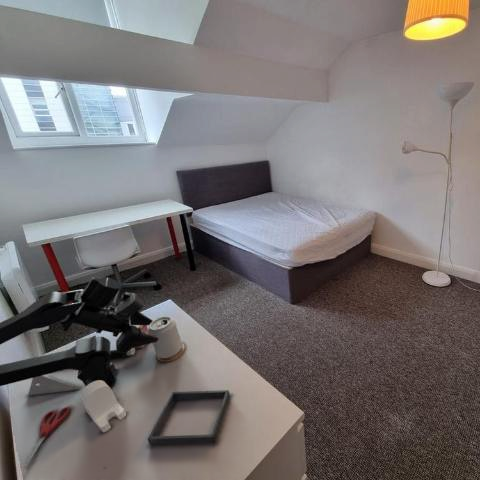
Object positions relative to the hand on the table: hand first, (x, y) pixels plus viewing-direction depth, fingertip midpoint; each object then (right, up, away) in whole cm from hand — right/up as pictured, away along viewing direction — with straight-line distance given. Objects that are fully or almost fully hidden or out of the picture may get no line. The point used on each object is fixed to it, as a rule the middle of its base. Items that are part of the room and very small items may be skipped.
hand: (155, 331), depth 83 cm
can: (+2, -8, +5) cm, 10 cm away
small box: (-11, -7, +9) cm, 16 cm away
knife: (-22, -10, 0) cm, 25 cm away
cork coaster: (+2, -9, +5) cm, 10 cm away
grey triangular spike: (-18, -15, -4) cm, 24 cm away
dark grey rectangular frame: (+19, -17, -15) cm, 30 cm away
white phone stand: (-5, -17, -13) cm, 22 cm away
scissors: (-16, -18, -19) cm, 31 cm away
